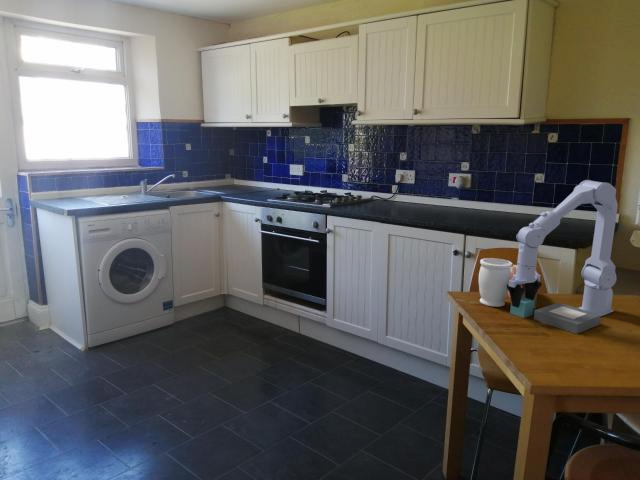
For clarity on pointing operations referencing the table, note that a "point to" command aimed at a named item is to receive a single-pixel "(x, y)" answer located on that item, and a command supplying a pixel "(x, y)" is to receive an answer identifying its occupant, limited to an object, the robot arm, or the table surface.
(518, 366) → the table surface
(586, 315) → the white-inset grey tile
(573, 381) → the table surface
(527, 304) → the teal cube
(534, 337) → the table surface
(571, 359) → the table surface
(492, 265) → the jar
